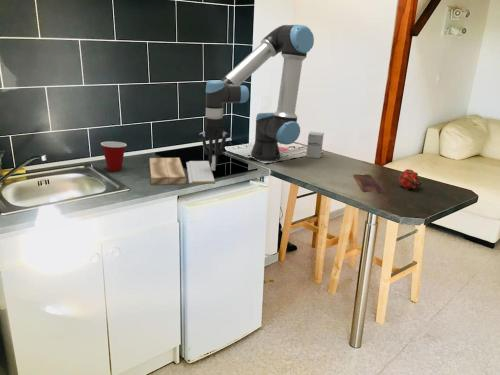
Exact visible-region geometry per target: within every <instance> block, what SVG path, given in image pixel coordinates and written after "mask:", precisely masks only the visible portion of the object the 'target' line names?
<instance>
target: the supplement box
mask: <svg viewBox="0 0 500 375" xmlns="http://www.w3.org/2000/svg"><path fill="white" fill-rule="evenodd" d="M324 134H325V133H324V132H317V131H310V132H308V137H307V147H306V158H313V159H320V158H321V156H322V150H323V142H324Z"/></svg>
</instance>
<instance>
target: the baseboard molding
mask: <svg viewBox="0 0 500 375" xmlns="http://www.w3.org/2000/svg"><path fill="white" fill-rule="evenodd" d="M186 160H189V161H186ZM186 160H184V164H186V170H187V176H188V177H187V178H188V183H189V185H198V184H199V185H200V184H203V185H205V184H208V185H209V184H210V185H211V184H215V183H216V181H215V178H214V174H213V171H212V170H211V163H210V162H209V158H207V159H204V158H203V159H202V158H201V159H200V158H199V157H197V158H196V157H195V158H194V159H189V158H186Z"/></svg>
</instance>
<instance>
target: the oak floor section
mask: <svg viewBox="0 0 500 375" xmlns="http://www.w3.org/2000/svg"><path fill="white" fill-rule="evenodd" d="M149 170H150V171H149V172H150V183H151V186H155V185H157V186H159V185H163V186H164V185H185V184H187V175H186V172H185V169H184V166H183V164H182V161H181V157H149Z"/></svg>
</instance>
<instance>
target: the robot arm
mask: <svg viewBox="0 0 500 375" xmlns="http://www.w3.org/2000/svg"><path fill="white" fill-rule="evenodd" d="M314 41H315V38H314V34H313V31H312V30H311V29H310V28H309V27H308V26H307V25H303V24H283V25H279V26H278V27H276V28H275V29H273V30H271V31H270V32H269V33H268V34H267V35H266V36H264V37H263V38H262V39H261V41H260V44H259V45H258V46H257V47H256V48H255V49H253V50H252V51H251V53H249V54H248V55H247V56H246V57H245V58H243V60H242V61H240V62H239V63H238V64H237V65H236V66H235V67H234V68H232V70H230V72H228V73H227V74H226V75H225V76H224V77H222V79H220V80H213V79H212V80H207V81H206V86H205V122H204V124H205V127H204V128H203V131H202V132H199V134H198V135H199V137H200V138H201V141H202V146H203V151H204V153H205V155H206V156H208V161H209V164H210V168H211V171H212V172H213V171H216V164H217V163H219V162H218V161H219V156H220V155H223V152H224V149H225V145H226V142H227V138H228V137H229V133H228V132H226V131H225V130H224V128H223V126H224V125H223V124H224V119H223V117H224V104H243V103H247V102H248V101H249V98H250V91H249V88H248V86H246V85H243V83H244V82H245V81H246V80H247V79H248V78H249V77H251V75H252V74H254V73H255V72H256V71H258V69H259V68H261V67H262V65H263V64H264V63H266V62H267V61H268V60H269V59H270V58H271V57H273V58H274V57H275V56H277V54H280V53H281V54H280V55H281V57H282V58H283V64H282V71H281V72H282V73H281V79H280V84H279V85H280V86H279V93H278V94H279V95H278V101H277V109H276V111H274V112H259V113H257V115H256V117H255V135H254V136H255V137H254V138H255V140H254V144H253V146H252V149H251V152H250V157H251V156H252V157H254V158H256V159H255V160H257V159H259V160H258V161H264V160H267V161H269V162H270V160H273V161H277V160H276V159H278V160H279V158H280V159H281V152H280V148H279V144H280V145H285V146H286V145H292V144H293V143H295V141H297V140H298V139H299V136H300V134H301V126H300V124H299V123H298V116H297V114H296V107H297V100H298V93H299V86H300V81H301V74H302V66H303V61H304V60H305V59H306V58H307V55H308V53H309V52H310V51H311V49H313V47H314V43H315V42H314ZM241 84H242V85H241ZM206 136H207V137H208V146H207V141H206ZM221 136H222V138H221V141H220V137H221ZM219 141H220V146H219ZM213 143H214V147H213ZM213 148H214V154H213ZM252 157H251V158H252ZM254 158H253V159H254Z"/></svg>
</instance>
